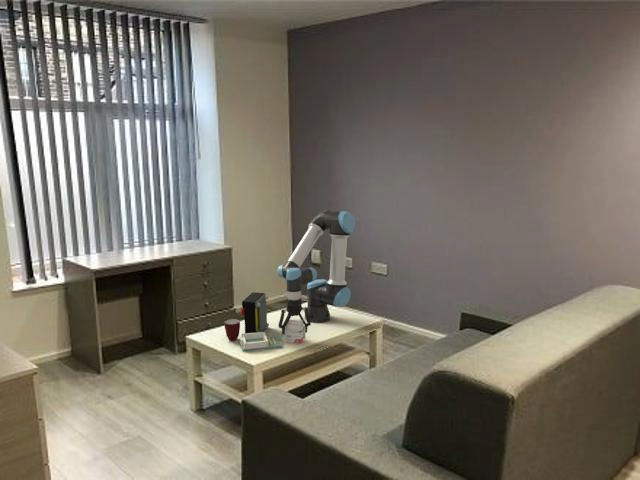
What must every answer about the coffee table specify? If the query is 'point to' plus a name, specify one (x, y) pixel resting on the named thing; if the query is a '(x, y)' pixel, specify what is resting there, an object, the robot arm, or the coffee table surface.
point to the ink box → (295, 331)
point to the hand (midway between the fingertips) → (294, 339)
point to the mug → (232, 329)
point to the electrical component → (255, 312)
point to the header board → (259, 342)
